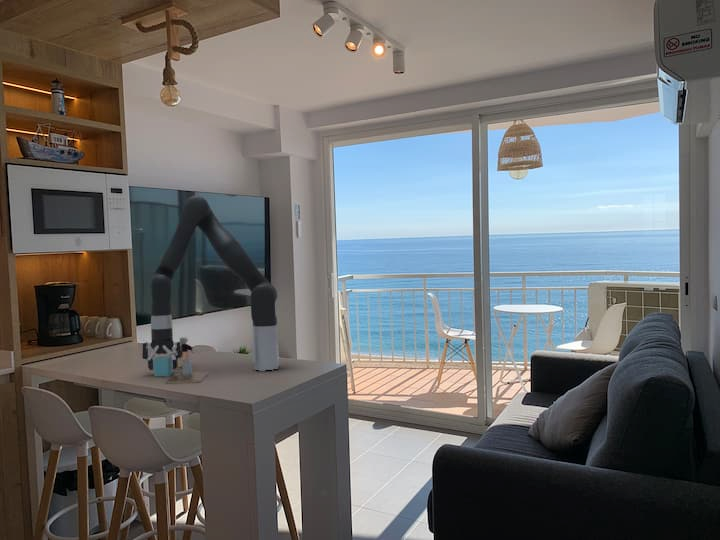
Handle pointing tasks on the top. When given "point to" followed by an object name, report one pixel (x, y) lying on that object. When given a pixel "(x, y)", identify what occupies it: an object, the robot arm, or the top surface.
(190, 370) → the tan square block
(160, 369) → the turquoise rectangular block
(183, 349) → the grandmother figurine
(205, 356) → the top surface
